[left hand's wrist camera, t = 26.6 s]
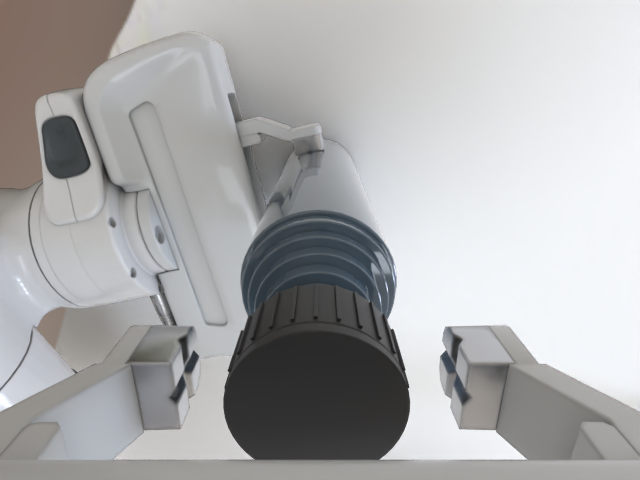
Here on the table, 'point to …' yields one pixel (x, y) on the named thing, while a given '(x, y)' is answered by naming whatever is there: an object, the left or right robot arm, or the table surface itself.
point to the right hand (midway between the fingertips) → (333, 187)
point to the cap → (317, 379)
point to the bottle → (319, 234)
